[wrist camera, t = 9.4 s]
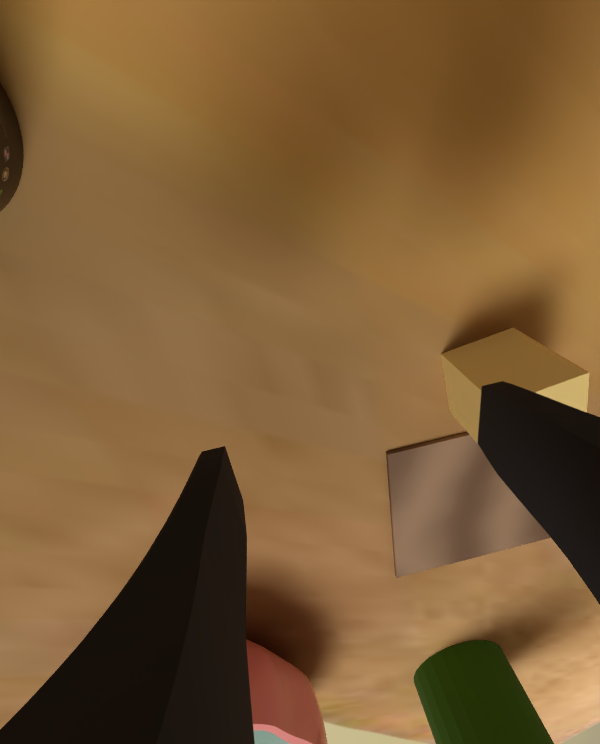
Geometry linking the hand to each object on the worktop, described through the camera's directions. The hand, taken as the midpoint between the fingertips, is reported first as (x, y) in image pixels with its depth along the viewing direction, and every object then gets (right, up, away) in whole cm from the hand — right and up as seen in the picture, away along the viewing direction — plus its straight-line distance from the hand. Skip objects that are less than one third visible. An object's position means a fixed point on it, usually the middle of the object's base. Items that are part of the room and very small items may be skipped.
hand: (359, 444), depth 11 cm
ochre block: (+8, +2, +12) cm, 14 cm away
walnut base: (+10, -6, +17) cm, 20 cm away
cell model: (-9, -22, +22) cm, 32 cm away
